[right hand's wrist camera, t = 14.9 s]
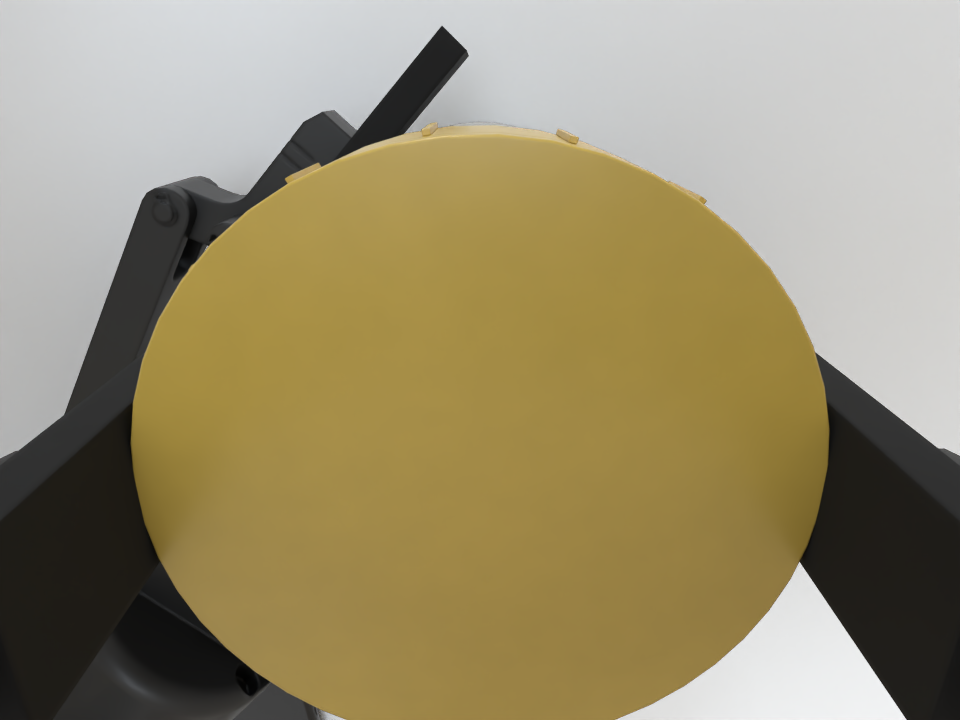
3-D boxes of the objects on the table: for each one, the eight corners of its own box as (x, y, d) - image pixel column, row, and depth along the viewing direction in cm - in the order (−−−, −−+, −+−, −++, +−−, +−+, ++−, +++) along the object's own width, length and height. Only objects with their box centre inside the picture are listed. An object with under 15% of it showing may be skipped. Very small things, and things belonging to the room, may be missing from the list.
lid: (80, 457, 12) (-2, 531, 10) (433, -42, 9) (419, -79, 7) (507, 722, 15) (511, 826, 13) (892, 391, 12) (981, 455, 10)
